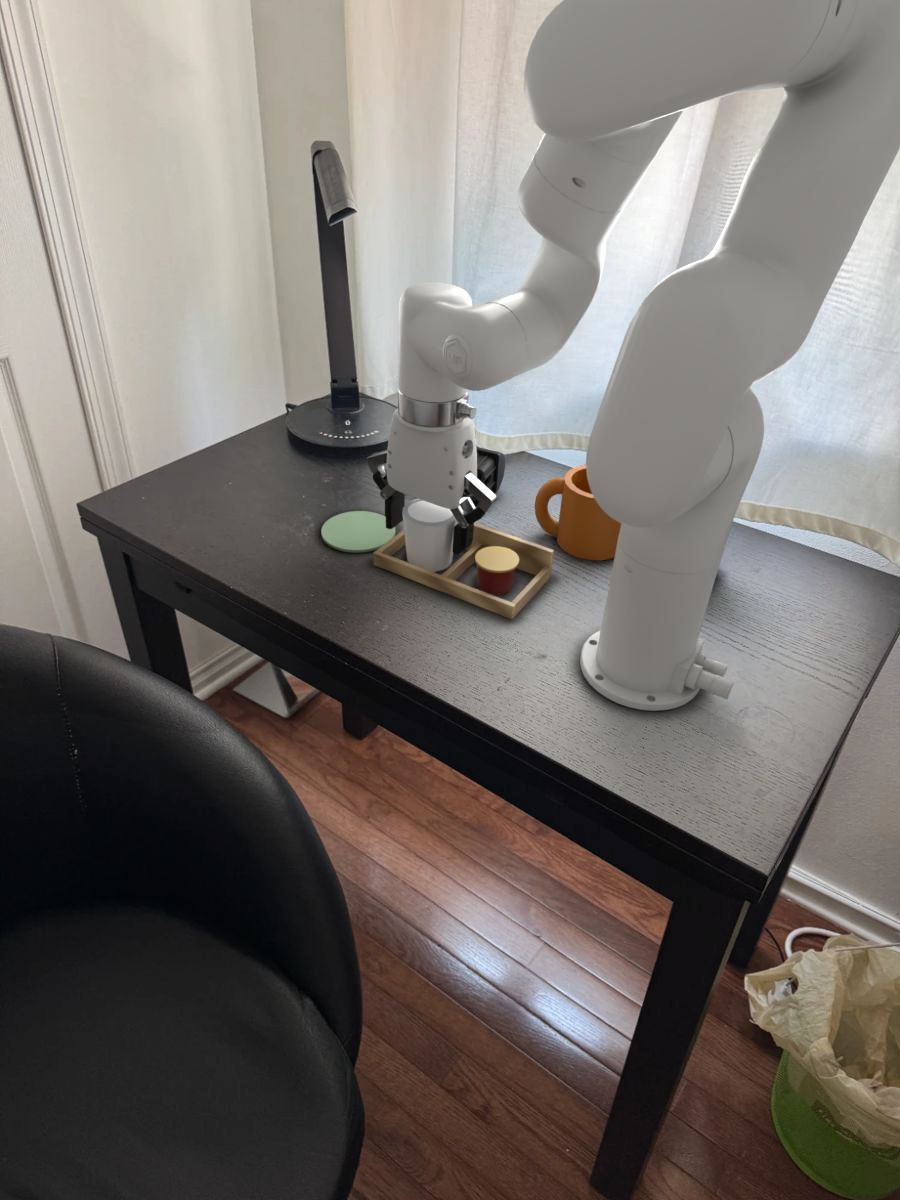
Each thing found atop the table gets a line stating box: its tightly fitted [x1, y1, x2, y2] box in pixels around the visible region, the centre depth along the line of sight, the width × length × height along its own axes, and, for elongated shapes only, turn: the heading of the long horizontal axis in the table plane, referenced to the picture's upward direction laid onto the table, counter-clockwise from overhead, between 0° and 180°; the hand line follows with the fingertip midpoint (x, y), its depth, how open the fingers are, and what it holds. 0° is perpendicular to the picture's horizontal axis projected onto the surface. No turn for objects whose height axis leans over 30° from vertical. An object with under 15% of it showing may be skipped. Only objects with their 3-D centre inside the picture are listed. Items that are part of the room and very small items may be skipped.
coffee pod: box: [474, 546, 519, 595], centre depth 94 cm, size 5×5×4 cm
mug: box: [534, 464, 621, 561], centre depth 101 cm, size 9×12×9 cm
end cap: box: [460, 446, 506, 507], centre depth 110 cm, size 10×7×7 cm
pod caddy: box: [372, 522, 555, 620], centre depth 95 cm, size 19×10×4 cm, turn 59°
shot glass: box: [402, 498, 458, 573], centre depth 96 cm, size 7×7×7 cm
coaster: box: [320, 510, 397, 554], centre depth 103 cm, size 10×10×1 cm
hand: (427, 536), depth 97 cm, fingers open, 9 cm apart
